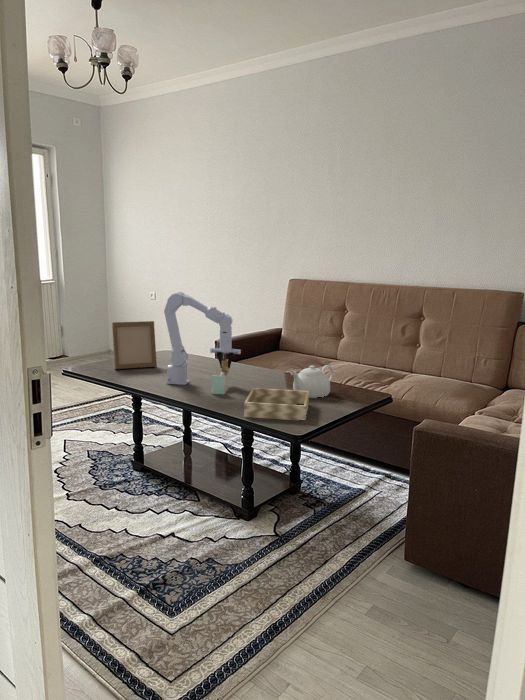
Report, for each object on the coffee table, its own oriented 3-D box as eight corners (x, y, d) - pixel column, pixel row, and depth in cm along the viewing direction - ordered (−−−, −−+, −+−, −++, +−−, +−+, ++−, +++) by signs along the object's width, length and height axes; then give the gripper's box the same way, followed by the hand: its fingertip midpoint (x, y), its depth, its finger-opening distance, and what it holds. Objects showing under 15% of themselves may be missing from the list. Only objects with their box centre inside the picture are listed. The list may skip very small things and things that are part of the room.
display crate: (244, 416, 216) (244, 402, 215) (252, 401, 238) (252, 387, 237) (305, 420, 213) (306, 406, 212) (308, 404, 235) (308, 391, 234)
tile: (211, 393, 248) (211, 375, 246) (212, 392, 250) (212, 374, 248) (224, 394, 247) (224, 376, 246) (224, 393, 249) (225, 375, 247)
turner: (217, 379, 252) (217, 366, 251) (222, 370, 265) (222, 359, 263) (223, 379, 252) (223, 367, 250) (228, 371, 264) (228, 359, 263)
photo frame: (156, 368, 295) (155, 322, 291) (115, 370, 288) (114, 323, 283) (152, 362, 309) (151, 319, 305) (112, 365, 301) (111, 320, 297)
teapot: (330, 400, 241) (332, 371, 239) (289, 397, 244) (290, 368, 242) (332, 390, 259) (334, 362, 257) (294, 387, 262) (295, 360, 260)
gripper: (208, 341, 257) (208, 368, 260) (239, 342, 255) (238, 370, 258) (212, 338, 264) (212, 365, 266) (241, 339, 262) (241, 367, 265)
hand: (225, 367), depth 263 cm, fingers closed on turner, 3 cm apart
